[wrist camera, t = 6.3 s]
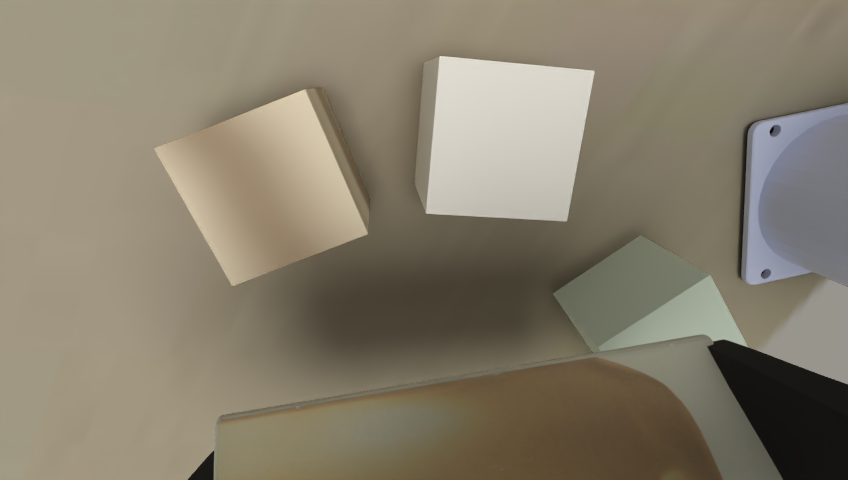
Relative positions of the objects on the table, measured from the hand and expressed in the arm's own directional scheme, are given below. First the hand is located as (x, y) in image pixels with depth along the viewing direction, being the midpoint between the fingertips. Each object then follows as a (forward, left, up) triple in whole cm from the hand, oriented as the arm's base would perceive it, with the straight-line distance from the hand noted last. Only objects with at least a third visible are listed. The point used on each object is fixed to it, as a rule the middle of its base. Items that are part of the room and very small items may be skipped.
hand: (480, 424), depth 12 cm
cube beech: (+5, -6, -10) cm, 13 cm away
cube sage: (-9, +4, -10) cm, 14 cm away
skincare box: (-6, +2, 0) cm, 7 cm away
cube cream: (-3, -6, -10) cm, 12 cm away
